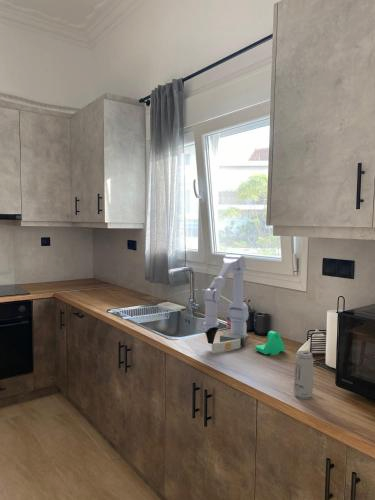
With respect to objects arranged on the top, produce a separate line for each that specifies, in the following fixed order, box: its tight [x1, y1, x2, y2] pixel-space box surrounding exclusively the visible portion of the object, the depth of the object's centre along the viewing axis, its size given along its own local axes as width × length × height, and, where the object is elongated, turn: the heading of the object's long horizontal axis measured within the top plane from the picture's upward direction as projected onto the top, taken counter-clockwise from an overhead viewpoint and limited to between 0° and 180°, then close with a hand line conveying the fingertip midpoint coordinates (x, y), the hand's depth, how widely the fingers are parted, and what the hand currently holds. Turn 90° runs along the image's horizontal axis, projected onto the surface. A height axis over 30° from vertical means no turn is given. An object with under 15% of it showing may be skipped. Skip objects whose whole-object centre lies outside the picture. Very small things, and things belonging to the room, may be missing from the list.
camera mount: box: [254, 330, 286, 356], centre depth 179 cm, size 12×8×10 cm, turn 120°
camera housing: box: [219, 332, 246, 348], centre depth 188 cm, size 7×11×4 cm, turn 63°
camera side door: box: [211, 339, 241, 354], centre depth 178 cm, size 1×16×4 cm, turn 122°
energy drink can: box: [293, 350, 315, 400], centre depth 131 cm, size 6×6×15 cm
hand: (210, 343), depth 180 cm, fingers closed
